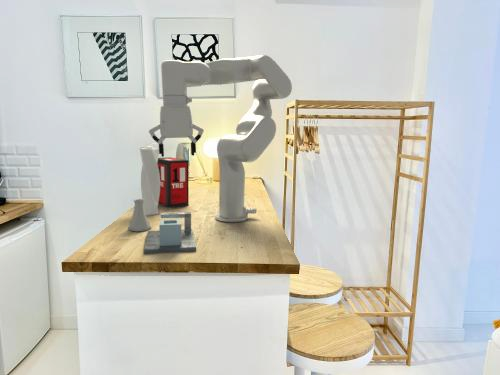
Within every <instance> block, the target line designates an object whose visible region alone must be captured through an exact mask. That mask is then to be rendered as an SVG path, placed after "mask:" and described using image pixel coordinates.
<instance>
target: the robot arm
mask: <svg viewBox="0 0 500 375" xmlns="http://www.w3.org/2000/svg"><path fill="white" fill-rule="evenodd" d="M160 68H161V70H160V71H161V88H162V102H163V103H162V104H163V105H162V106H160V112H159V124H158V125H156V126H154V127H152V128H150V129H149V130H148V133H149V135H150V136H151V138H152V139H153V140H154V142H157V143H158V144H157V145H158V148H159V155H161V156H160V157H161V158H164V155H165V148H164V141H165V139H178V138H179V139H180V138H181V139H182V138H183V139H185V138H188V139H189V140H190V141H191V143H190V155H191V156H195V154H196V153H197V142H198V141H199V140H200V139H201V137H202V136H203V133H204V128H202V127H200V126H198V125H195V124H194V123H193V118H192V117H193V116H192V112H191V108H190V105H188V104H190V103H192V102H193V99H192V98H191V97H188V88H193V87H201V86H208V85H209V86H211V85H212V86H213V85H214V86H216V85H217V86H218V85H219V86H220V85H229V84H230V85H231V84H238V83H247V82H254V81H255V82H254V84H253V86H252V94H253V95H252V96H253V97H252V98H253V104H252V106H251V108H250V109H249V110H248V111H247V113H245V115H244V116H243V117H242V118H241V120H240V121H239V122H238V124H237V126H236V129H235V132H236V134H227V135H224V136H222V137H220V139H219V140H218V142H217V146H216V150H217V151H216V153H217V158H218V165H219V166H218V167H219V177H218V178H219V184H218V185H219V188H218V189H219V190H218V191H219V192H218V194H219V196H218V197H219V198H218V199H219V200H218V212H217V213H216V214H215V215H214V219H215V220H217V221H220V222H223V223H224V222H225V223H238V222H239V223H240V222H244V221H247V220H248V218H249V214H257V208H253V207H246V206H245V191H246V190H245V184H246V172H245V171H246V170H245V167H244V163H253V162H255V161H257V160H258V159H259V158H260V157H261V155H262V154H263V153H264V152H265V151H266V149H267V148H268V147H269V145H270V144H271V143H272V141H273V139H274V138H275V136H276V133H277V124H276V122H275V120H274V119H273V118H272V116H273V109H272V105H271V101H270V100H282V99H287V98H288V97H290V95H291V93H292V91H293V84H292V82H291V80H290V78H289V76H288V75H287V74H286V72H285V70H283V69H282V68H281V67H280V65H279V64H278V63H277V62H276V61H275V60H274V59H273V58H272V57H271V56H269V55H267V54H262V55H261V54H260V55H255V56H246V57H235V58H234V57H233V58H230V57H229V58H221V59H217V60H216V59H215V60H212V61H208V62H202V61H182V60H177V59H168V60H163V61H162V63H161V66H160ZM159 130H160V137H158V136H157V135H156V133H155V132H157V131H159ZM194 130H195V131H197V132H198V133H197V134H196V136H195V137H194V136H193V135H194Z"/></svg>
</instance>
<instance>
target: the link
mask: <svg viewBox="0 0 500 375" xmlns="http://www.w3.org/2000/svg"><path fill="white" fill-rule="evenodd" d="M158 225H159V226H158V227H159V229H158V231H159V232H160V246H168V245H182V239H181V230H182V219H181V218H165V219H159V224H158Z"/></svg>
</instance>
